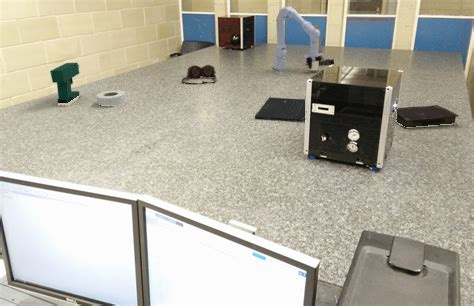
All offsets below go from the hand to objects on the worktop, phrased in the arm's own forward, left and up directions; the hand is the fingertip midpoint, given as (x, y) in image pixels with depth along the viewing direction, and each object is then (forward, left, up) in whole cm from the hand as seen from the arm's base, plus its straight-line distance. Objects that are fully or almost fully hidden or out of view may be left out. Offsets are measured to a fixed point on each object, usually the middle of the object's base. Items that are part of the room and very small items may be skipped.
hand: (313, 67), depth 279 cm
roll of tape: (+5, -138, -4) cm, 138 cm away
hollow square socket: (0, 0, -1) cm, 1 cm away
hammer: (-17, +17, -4) cm, 24 cm away
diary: (+107, -10, -4) cm, 107 cm away
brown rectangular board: (-5, 0, -4) cm, 6 cm away
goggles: (-21, -77, -4) cm, 80 cm away
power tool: (-17, -157, -4) cm, 159 cm away
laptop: (+67, -53, -4) cm, 86 cm away
